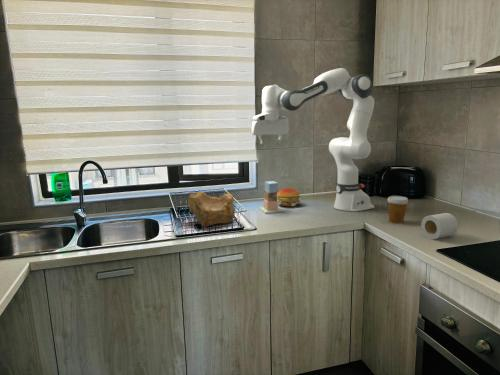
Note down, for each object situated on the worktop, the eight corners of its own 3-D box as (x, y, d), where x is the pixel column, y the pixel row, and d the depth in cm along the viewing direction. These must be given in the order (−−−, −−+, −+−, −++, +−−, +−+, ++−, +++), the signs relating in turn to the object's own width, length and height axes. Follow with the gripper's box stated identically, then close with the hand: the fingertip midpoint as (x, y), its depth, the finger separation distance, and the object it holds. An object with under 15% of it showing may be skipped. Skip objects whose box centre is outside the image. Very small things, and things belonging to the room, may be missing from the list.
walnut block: (272, 198, 205) (272, 189, 204) (276, 200, 200) (276, 191, 199) (264, 199, 204) (264, 190, 203) (268, 201, 198) (268, 192, 197)
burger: (273, 203, 218) (273, 187, 216) (293, 201, 223) (294, 185, 220) (282, 209, 206) (282, 191, 204) (304, 206, 210) (304, 189, 208)
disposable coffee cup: (410, 221, 180) (412, 197, 178) (401, 225, 174) (403, 201, 171) (391, 217, 187) (393, 194, 184) (382, 221, 181) (383, 197, 178)
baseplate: (275, 207, 209) (275, 205, 209) (282, 211, 200) (282, 210, 200) (258, 209, 206) (258, 207, 206) (265, 213, 197) (265, 212, 196)
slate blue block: (273, 189, 203) (273, 181, 202) (277, 192, 198) (277, 183, 197) (265, 190, 202) (264, 181, 201) (269, 192, 196) (269, 183, 195)
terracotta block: (273, 206, 206) (273, 198, 205) (277, 209, 201) (277, 200, 200) (263, 207, 205) (263, 199, 203) (267, 210, 199) (267, 201, 198)
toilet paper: (436, 231, 165) (439, 210, 163) (456, 238, 156) (459, 216, 154) (420, 235, 161) (422, 213, 159) (439, 242, 152) (441, 219, 150)
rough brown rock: (185, 231, 174) (184, 201, 169) (189, 217, 189) (188, 190, 185) (234, 231, 174) (234, 201, 170) (234, 218, 190) (234, 190, 186)
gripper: (286, 116, 198) (285, 141, 201) (250, 117, 192) (250, 143, 195) (291, 116, 192) (290, 142, 195) (254, 117, 186) (254, 144, 189)
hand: (270, 143), depth 195 cm, fingers open, 8 cm apart
